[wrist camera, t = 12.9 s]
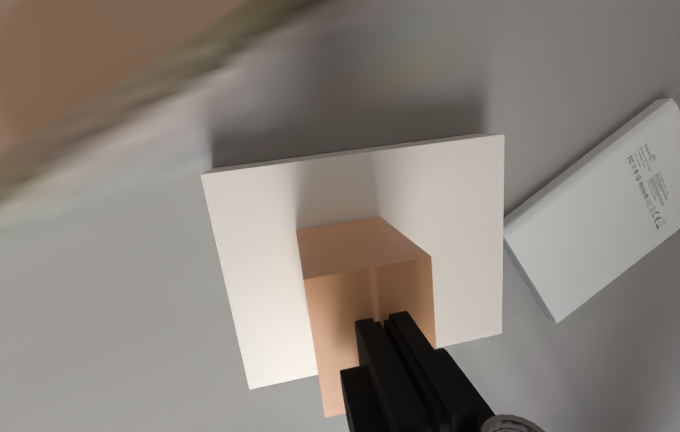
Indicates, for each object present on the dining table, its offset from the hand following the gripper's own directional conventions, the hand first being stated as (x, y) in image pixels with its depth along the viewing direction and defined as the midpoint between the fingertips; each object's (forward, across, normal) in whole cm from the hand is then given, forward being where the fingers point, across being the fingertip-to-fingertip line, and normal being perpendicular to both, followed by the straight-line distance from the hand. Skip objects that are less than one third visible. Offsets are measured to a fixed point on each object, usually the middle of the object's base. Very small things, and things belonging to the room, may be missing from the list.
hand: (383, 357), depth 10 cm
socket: (+9, -1, 0) cm, 9 cm away
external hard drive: (+10, -17, 0) cm, 19 cm away
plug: (+8, 0, 0) cm, 8 cm away
